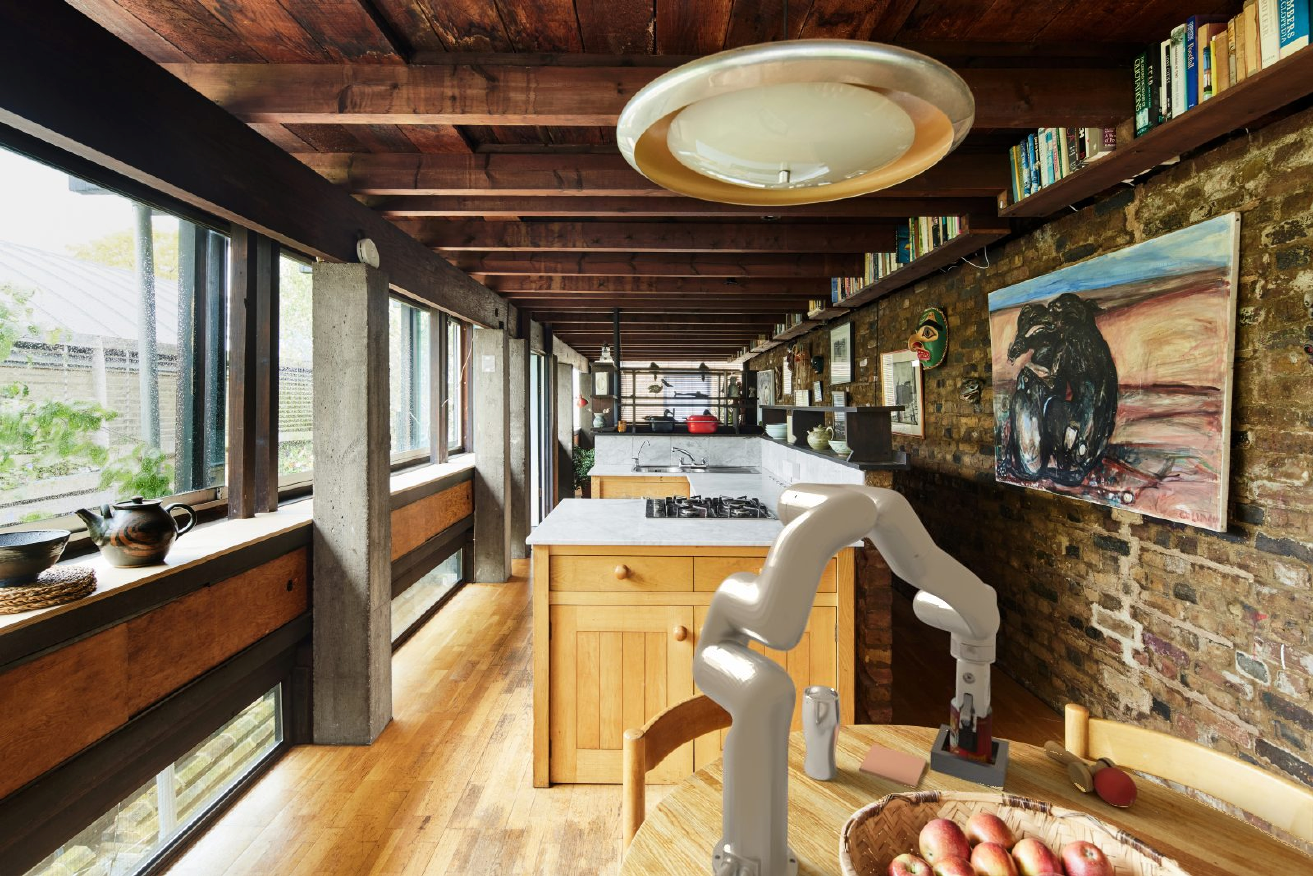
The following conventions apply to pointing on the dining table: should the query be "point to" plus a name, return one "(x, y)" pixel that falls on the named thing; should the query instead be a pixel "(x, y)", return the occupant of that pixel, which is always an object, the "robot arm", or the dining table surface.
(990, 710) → the soda can
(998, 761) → the collar
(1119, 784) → the kendama
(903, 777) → the tile
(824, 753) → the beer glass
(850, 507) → the robot arm
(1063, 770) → the dining table surface
